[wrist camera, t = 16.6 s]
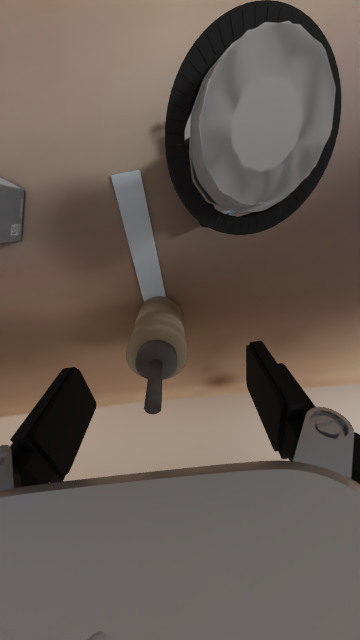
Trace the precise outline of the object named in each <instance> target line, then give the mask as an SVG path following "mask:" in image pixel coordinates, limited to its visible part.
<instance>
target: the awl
mask: <svg viewBox="0 0 360 640" xmlns="http://www.w3.org/2000/svg"><path fill="white" fill-rule="evenodd" d="M187 357H188V354H187V346H186V339H185V332H184V325H183V318H182V312H181V309H180V307H179V306H178V304H177V303H176V302H175V301H173V300H172V299H170V298H167V297H163V296H157V297H152V298H150V299H148V300H146V301H145V302H144V303H143V304H142V306H141V307H140V310H139V313H138V316H137V319H136V322H135V325H134V328H133V331H132V334H131V337H130V341H129V344H128V347H127V350H126V359H127V362H128V364H129V366H130V368H131V369H132V370H133V371H134V372H135V373H137V374H138V375H140V376H142V377H144V378H146V379H148V383H147V391H146V399H145V406H144V409H145V411H146V412H147V413H149V414H157V413H159V412H160V411H161V402H162V380H164V379H167V378H170V377H173V376H174V375H176V374H178V373H179V372H180V371H181V370H182V369H183V368H184V366H185V364H186V362H187Z"/></svg>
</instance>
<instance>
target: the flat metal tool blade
mask: <svg viewBox="0 0 360 640" xmlns="http://www.w3.org/2000/svg"><path fill="white" fill-rule="evenodd" d="M111 178H112V182H113V186H114V190H115V194H116V198H117V201H118V205H119V209H120V213H121V217H122V221H123V224H124V228H125V232H126V236H127V240H128V244H129V247H130V251H131V255H132V259H133V263H134V266H135V270H136V274H137V278H138V282H139V286H140V289H141V293H142V297H143V301H144V302H145V301H146V300H148V299H150V298H152V297H157V296H163V297H166V295H165V290H164V285H163V280H162V275H161V270H160V265H159V261H158V256H157V251H156V246H155V241H154V236H153V231H152V226H151V221H150V216H149V212H148V207H147V202H146V197H145V192H144V187H143V182H142V177H141V172H140V170H136V171H130V172H125V173H120V174H114V175H111Z"/></svg>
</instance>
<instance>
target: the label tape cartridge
mask: <svg viewBox="0 0 360 640" xmlns="http://www.w3.org/2000/svg"><path fill="white" fill-rule="evenodd" d="M24 207H25V189H24V188H22V187H21V186H19V185H16V184H14V183H12V182H10V181H8V180H6V179H4V178H1V177H0V243H7V242H16V241H22V235H23V222H24Z"/></svg>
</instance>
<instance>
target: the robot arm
mask: <svg viewBox="0 0 360 640" xmlns="http://www.w3.org/2000/svg"><path fill="white" fill-rule="evenodd" d="M246 382H247V387H248V390H249V392H250V395H251V397H252V399H253V402H254V404H255V407H256V409H257V411H258V414H259V416H260V418H261V421H262V423H263V425H264V428H265V430H266V433H267V435H268V437H269V440H270V442H271V445H272V447H273V449H274V450H275V451H279V454H280V456H281V458H282V459H287V458H289V460H290V461H258V462H245V463H233V464H222V465H212V466H202V467H193V468H183V469H173V470H164V471H155V472H146V473H137V474H128V475H118V476H109V477H100V478H91V479H82V480H74V481H65V482H63V480H64V478H65V475H66V474H68V473H69V471H70V469H71V466H72V464H73V462H74V459H75V456H76V454H77V452H78V450H79V447H80V445H81V442H82V440H83V438H84V435H85V433H86V430H87V428H88V426H89V423H90V421H91V418H92V416H93V414H94V411H95V409H96V401H95V399H94V397H93V395H92V393H91V391H90V389H89V387H88V386H87V384H86V382H85V380H84V378H83V376H82V374H81V372H80V370H79V369H77V368H75V367H71V368H65V369H63V370H62V371H61V372H60V373H59V375H58V376H57V377H56V379H55V380H54V381H53V383H52V384H51V386H50V387H49V388H48V390H47V391H46V392H45V394H44V395H43V396H42V398H41V399H40V400H39V402H38V403H37V404H36V406H35V407H34V408H33V410H32V411H31V413H30V414H29V415H28V417H27V418H26V419H25V421H24V422H23V423H22V425H21V426H20V427H19V429H18V430H17V432H16V433H15V434H14V435H13V437H12V438H11V441H12V442H13V444H12V445H11V446H8V445H2V446H0V640H360V435H359V434H357V433H355V432H354V430H353V427H352V425H351V424H350V422H349V421H348V420H347V419H346V418H345V417H344V416H342V415H341V414H339V413H338V412H336V411H334V410H332V409H328V408H325V407H315V406H314V405H313V403H312V402H311V400H310V399H309V397H308V396H307V395H306V393H305V392H304V391H303V389H302V388H301V387H300V385H299V384H298V382H297V381H296V380H295V378H294V377H293V376H292V374H291V373H290V372H289V370H288V369H287V368H286V366H285V365H284V364H282V363H280V364H277V362H276V361H275V359H274V358H273V357H272V355H271V354H270V352H269V351H268V349H267V348H266V347H265V345H264V344H263V342H262V341H255V342H250V345H247V346H246ZM49 482H50V483H49Z"/></svg>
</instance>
